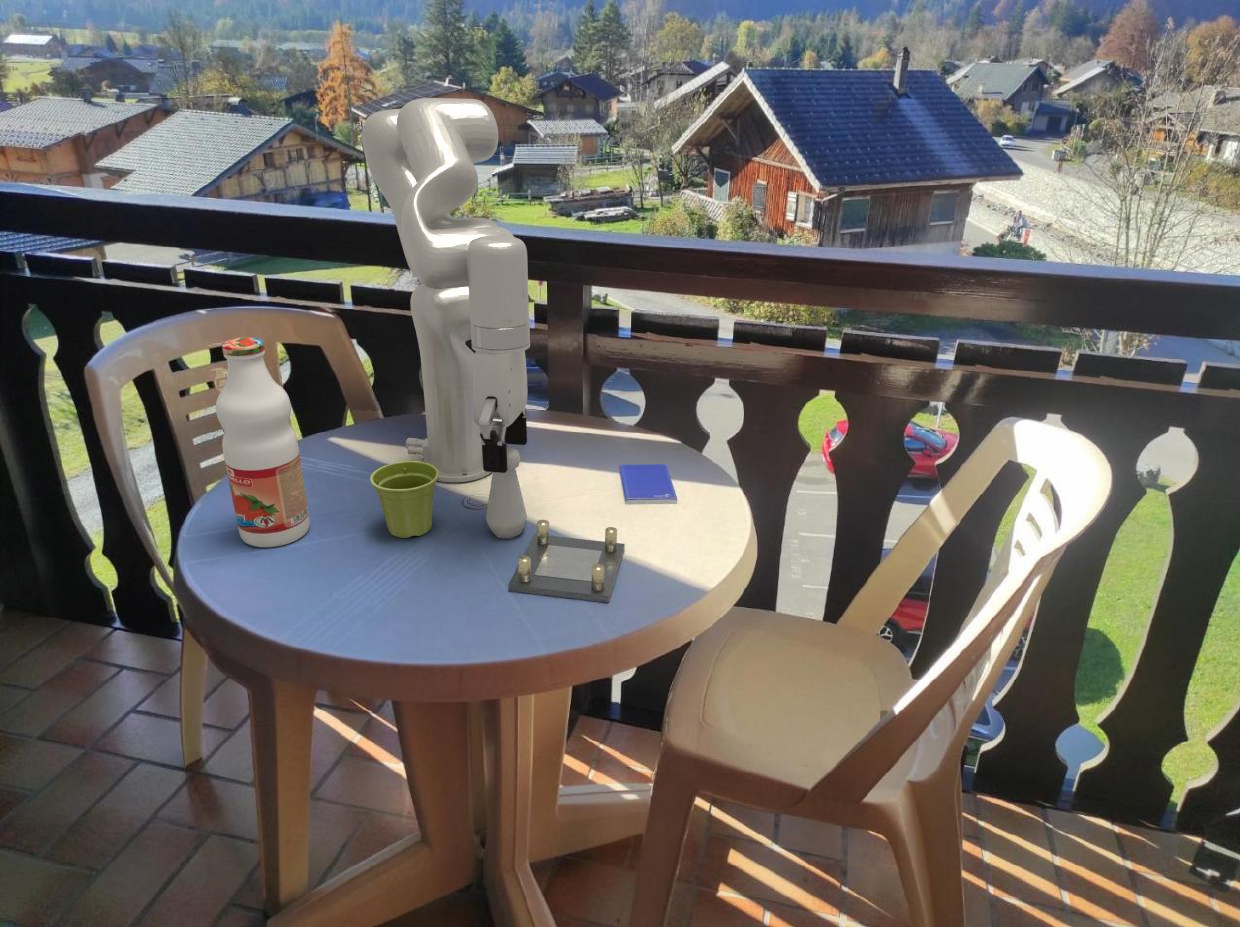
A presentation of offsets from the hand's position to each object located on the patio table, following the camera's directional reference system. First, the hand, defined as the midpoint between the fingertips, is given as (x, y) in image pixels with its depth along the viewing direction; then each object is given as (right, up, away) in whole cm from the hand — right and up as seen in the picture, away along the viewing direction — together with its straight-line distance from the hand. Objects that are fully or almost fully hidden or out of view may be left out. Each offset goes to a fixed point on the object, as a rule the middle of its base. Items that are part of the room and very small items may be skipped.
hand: (506, 457), depth 111 cm
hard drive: (+20, -5, +21) cm, 29 cm away
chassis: (+9, -15, -3) cm, 18 cm away
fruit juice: (-33, -11, +4) cm, 35 cm away
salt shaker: (-1, -11, +6) cm, 12 cm away
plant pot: (-15, -10, +6) cm, 19 cm away
